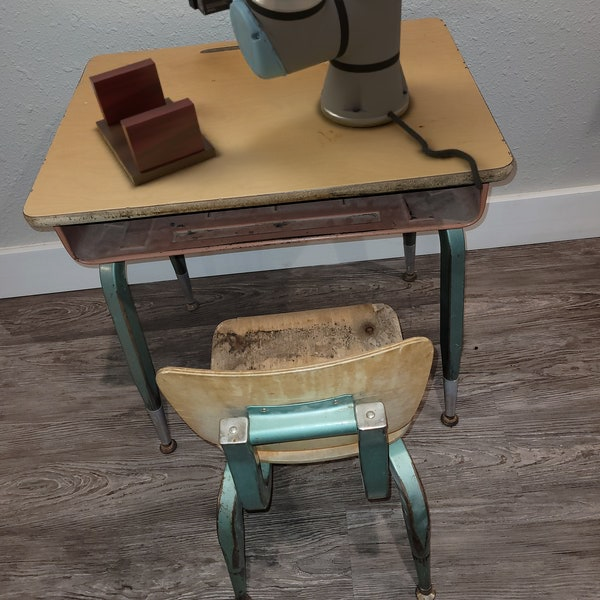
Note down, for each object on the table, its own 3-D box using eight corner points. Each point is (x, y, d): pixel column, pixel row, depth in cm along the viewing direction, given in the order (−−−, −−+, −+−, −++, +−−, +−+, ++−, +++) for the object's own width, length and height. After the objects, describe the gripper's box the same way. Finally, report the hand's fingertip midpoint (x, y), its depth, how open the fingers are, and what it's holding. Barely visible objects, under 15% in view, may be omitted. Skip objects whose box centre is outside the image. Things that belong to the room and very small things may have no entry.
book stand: (216, 155, 97) (204, 101, 90) (135, 186, 93) (116, 132, 86) (170, 104, 110) (157, 54, 104) (98, 129, 107) (79, 78, 100)
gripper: (228, -158, 104) (248, -16, 120) (120, -135, 98) (157, 10, 115) (247, -153, 99) (265, -6, 115) (134, -129, 93) (171, 22, 110)
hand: (211, 2), depth 115 cm, fingers closed on small box, 7 cm apart
